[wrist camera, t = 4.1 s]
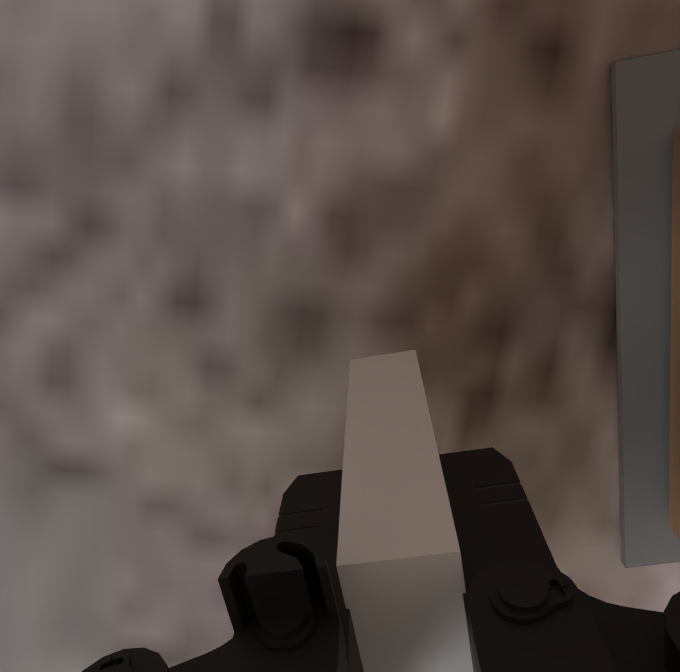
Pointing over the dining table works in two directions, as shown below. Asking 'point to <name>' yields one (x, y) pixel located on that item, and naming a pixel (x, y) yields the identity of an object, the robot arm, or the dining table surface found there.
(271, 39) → the dining table surface
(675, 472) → the socket block
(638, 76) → the runner mat
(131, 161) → the dining table surface
